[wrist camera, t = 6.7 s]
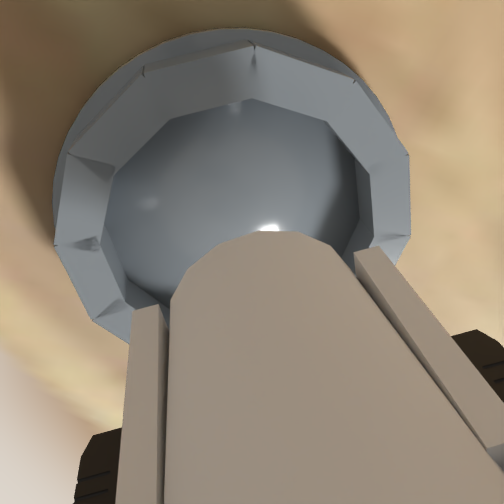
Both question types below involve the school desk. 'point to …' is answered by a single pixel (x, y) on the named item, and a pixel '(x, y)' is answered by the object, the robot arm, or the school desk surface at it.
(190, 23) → the school desk surface
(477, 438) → the robot arm
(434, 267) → the school desk surface
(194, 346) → the grey cup
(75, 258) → the grey round dish
